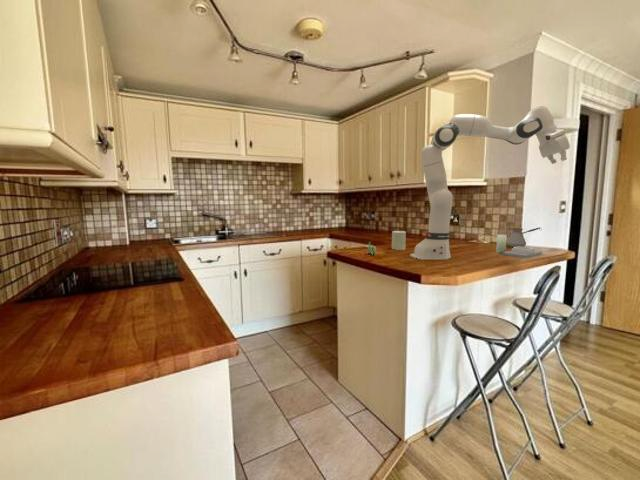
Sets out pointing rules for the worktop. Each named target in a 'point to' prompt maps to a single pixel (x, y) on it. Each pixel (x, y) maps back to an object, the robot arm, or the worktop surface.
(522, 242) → the coffee pot
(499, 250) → the post
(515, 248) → the base board
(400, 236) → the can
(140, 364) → the worktop surface
